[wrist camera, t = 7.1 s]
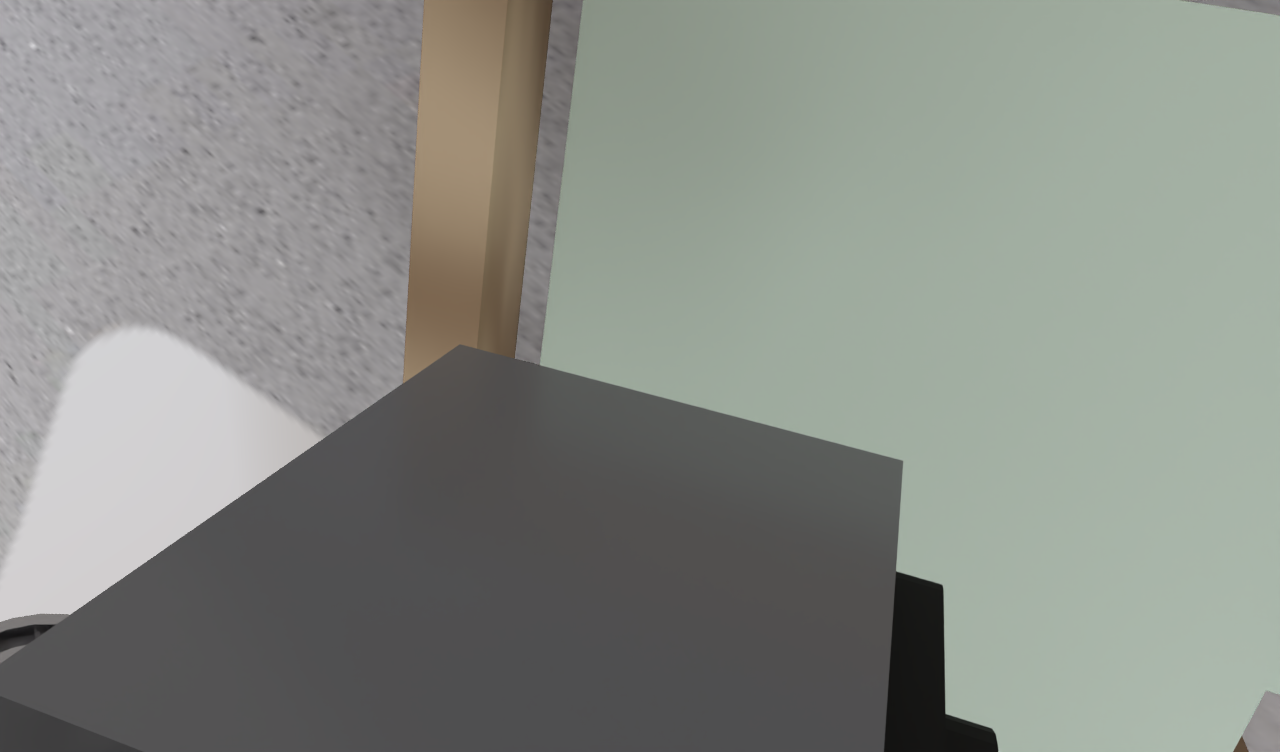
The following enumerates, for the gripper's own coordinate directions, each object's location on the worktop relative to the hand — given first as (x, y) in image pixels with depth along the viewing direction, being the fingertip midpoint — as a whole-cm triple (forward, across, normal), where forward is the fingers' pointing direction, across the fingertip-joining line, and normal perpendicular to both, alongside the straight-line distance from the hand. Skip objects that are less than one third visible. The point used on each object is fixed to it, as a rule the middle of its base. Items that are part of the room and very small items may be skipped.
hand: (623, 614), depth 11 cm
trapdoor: (+8, -5, 0) cm, 9 cm away
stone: (0, 0, 0) cm, 0 cm away
